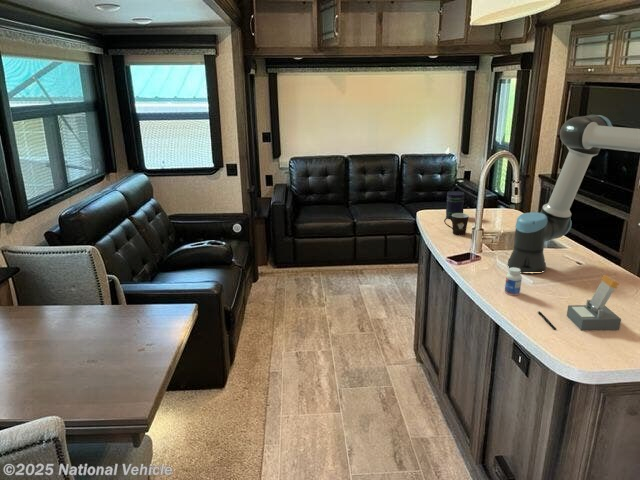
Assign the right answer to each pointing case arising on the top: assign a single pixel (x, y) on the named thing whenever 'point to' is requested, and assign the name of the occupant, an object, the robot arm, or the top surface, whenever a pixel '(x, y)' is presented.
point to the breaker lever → (602, 293)
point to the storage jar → (454, 203)
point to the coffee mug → (459, 223)
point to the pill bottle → (513, 281)
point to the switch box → (593, 318)
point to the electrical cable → (546, 320)
